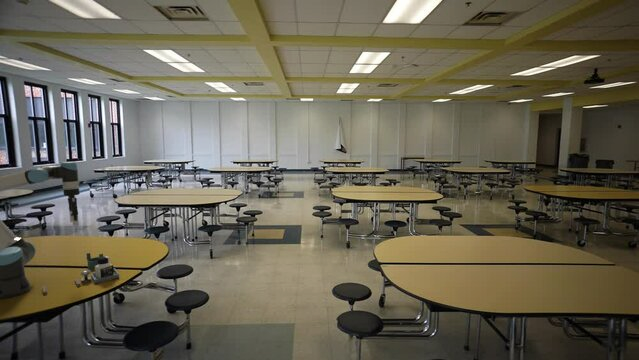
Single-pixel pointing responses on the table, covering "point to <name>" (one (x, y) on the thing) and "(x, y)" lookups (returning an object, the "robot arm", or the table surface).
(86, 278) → the knob
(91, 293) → the table surface
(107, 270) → the medicine bottle
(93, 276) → the tray
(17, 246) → the robot arm
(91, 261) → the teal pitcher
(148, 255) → the table surface
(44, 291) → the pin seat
